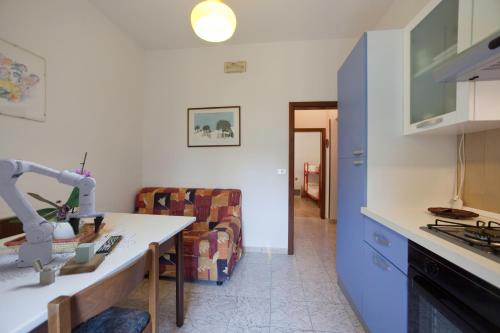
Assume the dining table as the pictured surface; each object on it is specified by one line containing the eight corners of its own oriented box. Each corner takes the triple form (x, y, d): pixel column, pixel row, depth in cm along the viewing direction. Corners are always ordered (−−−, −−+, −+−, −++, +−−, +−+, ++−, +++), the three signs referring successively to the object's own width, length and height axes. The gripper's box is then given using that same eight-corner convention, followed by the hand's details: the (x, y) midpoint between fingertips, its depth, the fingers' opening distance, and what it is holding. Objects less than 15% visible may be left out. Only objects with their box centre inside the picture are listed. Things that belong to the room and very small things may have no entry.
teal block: (75, 263, 81) (75, 247, 81) (81, 258, 86) (81, 243, 86) (88, 261, 82) (89, 246, 82) (93, 257, 87) (94, 242, 87)
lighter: (55, 281, 72) (55, 258, 72) (50, 284, 71) (50, 261, 71) (36, 280, 73) (36, 258, 73) (30, 283, 71) (31, 260, 71)
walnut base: (59, 276, 77) (59, 268, 77) (74, 263, 87) (74, 256, 87) (94, 272, 80) (94, 264, 80) (105, 260, 91) (105, 253, 91)
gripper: (62, 206, 88) (61, 238, 88) (101, 204, 92) (101, 235, 92) (71, 203, 95) (71, 232, 95) (108, 202, 99) (107, 230, 99)
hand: (86, 233), depth 94 cm, fingers open, 7 cm apart
